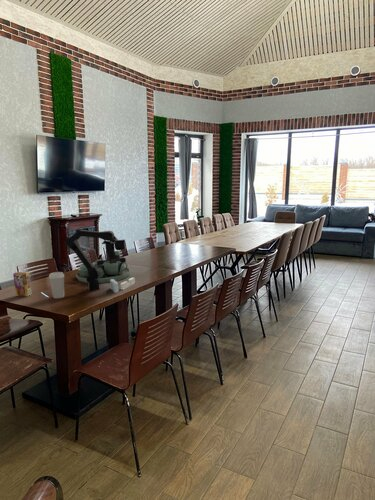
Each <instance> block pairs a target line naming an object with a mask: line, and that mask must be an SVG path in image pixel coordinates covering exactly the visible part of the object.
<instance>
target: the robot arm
mask: <svg viewBox="0 0 375 500" xmlns="http://www.w3.org/2000/svg"><path fill="white" fill-rule="evenodd" d="M81 237H84V238H85V237H86V238H97V239H100V240H103V242H101V245H104V247H105V248H104V249H105V259H103V258H101V259H96V260H95V262H96V264H97V265H99V266H101V268H102V270H103V272H104V275H105V269H104V265H103V264H104V263H110V264H112V263H117V262H118V261H119V262H118V273H119V272H120V268H121V265H122V264H125V263H124V262H126V263H127V259H126V257H124V256H121V255H120V256H119V255H115V251H126V249H127V242H126V239H118V238H117V237H116V235H115V233H114V232H113V231H112V230H103V231H98V230H97V231H96V230H95V231H94V230H85V229H79V230H77V231H76V232H75V233H74V234H73V235H70V236H68V237H67V238H65V239H64V244H65V245H66V246H67V247H68V248H69V249H71V250H72V251H73V252H74V254H75V255H76V256H77V257H78V259H79V260H80V261H81V263H82V265H83V264H84V265H85V267H86V268H87V271H88V274H89V277H88V278H87V279H86V280H87V282H88V283H87V291H89V292H93V291H97V290H100V283H99V282H98V280H97V279H98V277H99V276H100V273H101V272H100V269H99V268H98V266H97V265H96V266H94V265H93V264H92V263H93V262H91V260H90V259H89V258H88V256H87V254H86V253H85V252H84V251H83V249H82V248H81V246H80V244H79V240H80V238H81ZM102 259H103V260H102Z"/></svg>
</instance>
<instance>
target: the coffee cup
mask: <svg viewBox="0 0 375 500" xmlns="http://www.w3.org/2000/svg"><path fill="white" fill-rule="evenodd" d="M65 276H66V275H65V274H64V272H63V271H55V272H51V273H49V275H48V279H49V283H50V287H51V292H52V297H53V299H61V298H64V297H65Z"/></svg>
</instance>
